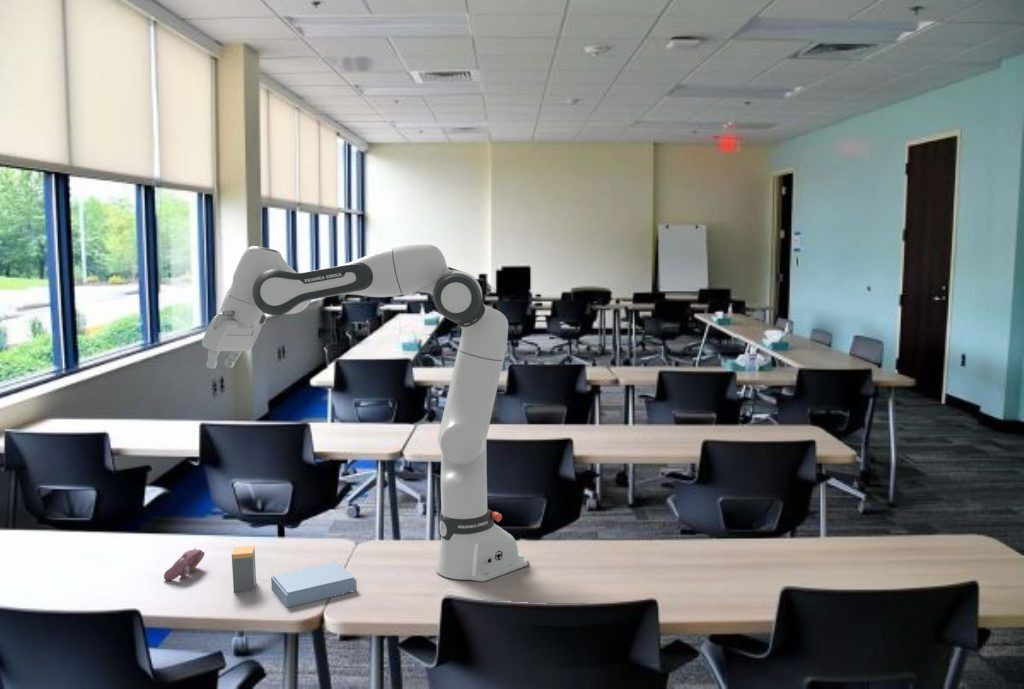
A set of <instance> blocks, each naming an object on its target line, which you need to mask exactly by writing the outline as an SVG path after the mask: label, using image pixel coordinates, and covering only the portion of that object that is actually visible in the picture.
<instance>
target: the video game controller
mask: <svg viewBox="0 0 1024 689" xmlns="http://www.w3.org/2000/svg"><path fill="white" fill-rule="evenodd" d="M204 556H205V552H204V551H202V550H201V549H197V548H196V547H195V548H194V549H190V550H187V551H184V552H183V554H182V555H181V556H180V557H179V558H178V559H177V560H176V561H175V562H174V564H173V565H172V566H171V567H170V568H168V569H166V571H165V572H164V574H163V579H164V581H166V582H168V581H173V580H175V579H176V578H178V577H180V578H185V577H186V576H187V574H189V573H192V572H193V571H195V570H196V568H197V566H198V565H199V564H200V563H201V562H202V560H203V558H204Z"/></svg>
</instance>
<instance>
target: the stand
mask: <svg viewBox="0 0 1024 689" xmlns="http://www.w3.org/2000/svg"><path fill="white" fill-rule="evenodd" d="M270 578H271V581H270V582H271V584H270V585H271V589H272V591H273V592H274V593H275V595H276V596H277V597H278V598H279V600H280V601H281V603H284V604H283V605H284V606H285V607H286V608H287V609H288V608H292V607H296V606H300V605H304V604H308V603H313V602H317V601H321V599H322V600H325V598H326V599H330V598H334V597H336V596H335V595H338V596H341V595H340V594H342V595H344V594H343V593H347V592H351V591H355V590H357V586H358V585H357V579H356V577H355V576H353V575H352V573H351V572H349V571H348V570H347V569H346V568H345V567H344V566H343V565H341V563H339V562H338V561H335V562H334V561H333V562H329V563H325V564H319V565H315V566H311V567H306V568H302V569H297V570H292V571H288V572H287V571H286V572H283V573H279V574H275V575H273V576H271V577H270ZM355 592H356V591H355ZM351 593H352V592H351ZM347 594H348V593H347ZM333 596H334V597H333Z"/></svg>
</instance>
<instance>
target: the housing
mask: <svg viewBox="0 0 1024 689" xmlns="http://www.w3.org/2000/svg"><path fill="white" fill-rule="evenodd" d="M255 553H256V551H255V545H250V546H237V547H233V550H232V553H231V567H232V584H233V586H232V587H233V593H245V592H244V591H246V592H253V591H252V590H254V591H256V590H255V589H256V585H257V570H256V554H255Z"/></svg>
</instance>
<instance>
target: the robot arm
mask: <svg viewBox="0 0 1024 689" xmlns="http://www.w3.org/2000/svg"><path fill="white" fill-rule="evenodd" d="M235 268H236V269H235V271H234V272H233V277H232V282H231V284H230V288H229V289H228V290H227V292H226V294H225V296H224V299H223V301H222V304H221V307H220V309H219V314H217V315H215V316H214V317H213V318H212V319H211V321H210V322H209V325H208V327H207V329H206V330H205V333H204V336H203V338H202V340H201V343H202V344H201V346H202V347H203V348H206V349H208V351H207V361H206V363H205V366H206V368H208V369H212V370H213V369H216V367H217V366H218V363H219V361H218V356H219V355H220V353H221V352H230V354H229V355H228V357H227V358H226V359H225V361H224V363H223V364H224V367H227V368H229V369H230V368H234V367H235V364H236V362H237V360H238V359H239V358H240V356H241V354H242V353H243V351H245V352H249V351H251V349H252V348H253V347H254V345H255V343H256V341H257V339H258V338H259V334H260V332H261V330H262V325H263V326H264V325H265V323H266V321H267V316H266V314H267V315H269V316H282V315H295V314H299V313H302V312H303V311H305V310H306V309H307V308H308V307H309V305H311V302H312V301H313V300H319V299H323V298H329V297H335V296H340V295H355V296H363V297H369V298H389V297H400V296H403V295H408V294H413V293H420V292H421V293H422V292H423V293H427V294H430V295H431V296H433V303H434V307H435V309H436V310H437V311H438V313H440V314H441V315H442V316H443V317H444V318H445V319H447V320H449V321H452V322H453V323H455V324H457V326H460V327H461V333H460V334H461V335H460V341H459V344H458V348H457V352H456V358H455V360H454V366H453V371H452V373H451V379H450V384H449V387H448V392H447V397H446V401H445V405H444V409H443V414H442V418H441V422H440V426H439V430H438V436H437V443H438V447H439V449H440V503H441V505H440V506H441V509H440V510H441V511H439V534H440V546H439V553H438V559H437V562H436V566H435V571H436V572H437V574H439V575H440V576H442V577H444V578H449V579H452V580H464V581H465V580H466V581H467V580H469V581H476V582H486V581H488V580H491V579H494V578H496V577H500V576H503V575H505V574H507V573H510V572H513V571H515V570H518V569H521V568H524V567H526V566H528V559H527V557H526V556H525V554H523V553H522V552H521V551H519V549H518V548H519V547H518V544H517V541H516V539H515V538H514V536H513V535H512V534H510V533H509V532H508V531H506V530H504V529H503V528H502V527H500V526H499V525H497V524H496V523H495V522H498V523H499V522H500V521H501V520H502V519H503V516H502V515H503V514H501V513H499V512H498V511H493V510H491V509H489V508H488V482H487V481H488V478H487V477H488V474H487V464H488V463H487V462H488V460H487V438H488V434H489V428H490V423H491V419H492V414H493V410H494V404H495V400H496V396H497V391H498V387H499V381H500V377H501V374H502V369H503V365H504V361H505V356H506V352H507V351H506V350H507V346H508V336H509V335H508V334H509V321H508V318H507V317H506V315H505V314H503V312H501V311H500V310H498V309H496V308H492V307H489V306H487V305H486V304H485V303H484V299H483V290H482V287H481V285H480V283H479V281H478V280H477V278H476V277H474V276H473V275H472V274H471V273H469V272H466V271H464V270H463V271H462V270H459V269H456V268H453V267H450V266H448V265H447V262H446V259H445V256H444V254H443V253H442V251H441V250H440V248H438V247H437V246H436V245H433V244H412V245H402V246H396V247H391V248H387V249H383V250H380V251H376V252H373V253H370V254H367V255H365V256H362V257H360V258H358V259H355V260H351V261H350V262H347V263H344V264H341V265H338V266H337V265H336V266H332V267H325V268H321V269H316V270H310V271H304V272H297V271H296V270H294V269H293V267H291V266H290V265H289V264H288V263H287V261H286V260H285V259H284V257H283V256H282V254H281V253H280V252H279V250H275V249H273V248H269V247H264V246H263V247H262V246H257V245H252V246H249V247H248V248H246V249H245V250H244V252H243V254H242V256H241V258H239V261H238V263H237V266H236V267H235Z"/></svg>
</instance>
